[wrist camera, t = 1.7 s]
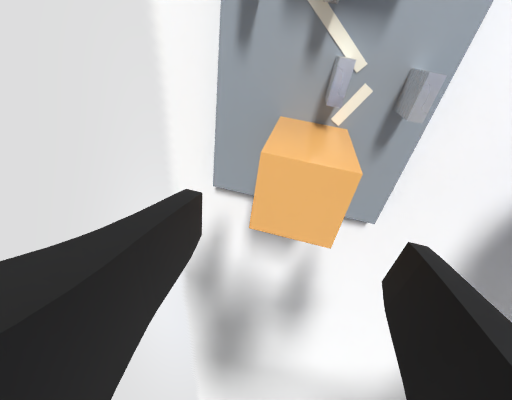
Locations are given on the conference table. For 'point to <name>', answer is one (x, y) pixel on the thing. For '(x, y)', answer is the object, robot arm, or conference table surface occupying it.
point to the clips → (410, 99)
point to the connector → (305, 181)
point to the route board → (319, 73)
